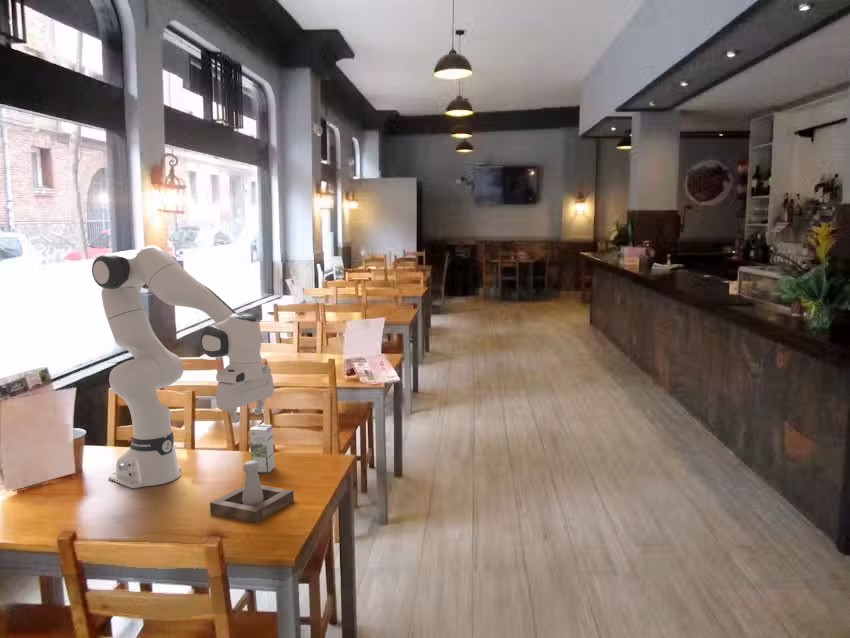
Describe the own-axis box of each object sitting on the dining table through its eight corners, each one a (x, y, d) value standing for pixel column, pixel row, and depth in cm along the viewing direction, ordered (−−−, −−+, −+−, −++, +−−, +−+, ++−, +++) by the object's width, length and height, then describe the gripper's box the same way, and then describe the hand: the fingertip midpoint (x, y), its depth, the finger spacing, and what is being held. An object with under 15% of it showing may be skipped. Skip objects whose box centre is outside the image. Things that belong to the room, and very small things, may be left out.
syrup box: (275, 467, 223) (272, 423, 221) (268, 473, 217) (265, 429, 216) (258, 466, 224) (255, 423, 222) (251, 473, 218) (248, 428, 216)
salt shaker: (258, 511, 187) (255, 465, 186) (239, 510, 189) (236, 465, 187) (267, 503, 193) (264, 458, 191) (248, 502, 194) (245, 458, 193)
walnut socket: (210, 513, 187) (209, 502, 187) (249, 492, 202) (249, 482, 201) (256, 522, 180) (255, 511, 180) (293, 500, 194) (293, 490, 194)
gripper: (261, 363, 204) (262, 408, 206) (211, 376, 186) (213, 425, 188) (278, 365, 201) (279, 410, 203) (229, 379, 183) (230, 429, 185)
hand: (247, 418), depth 195 cm, fingers open, 8 cm apart
